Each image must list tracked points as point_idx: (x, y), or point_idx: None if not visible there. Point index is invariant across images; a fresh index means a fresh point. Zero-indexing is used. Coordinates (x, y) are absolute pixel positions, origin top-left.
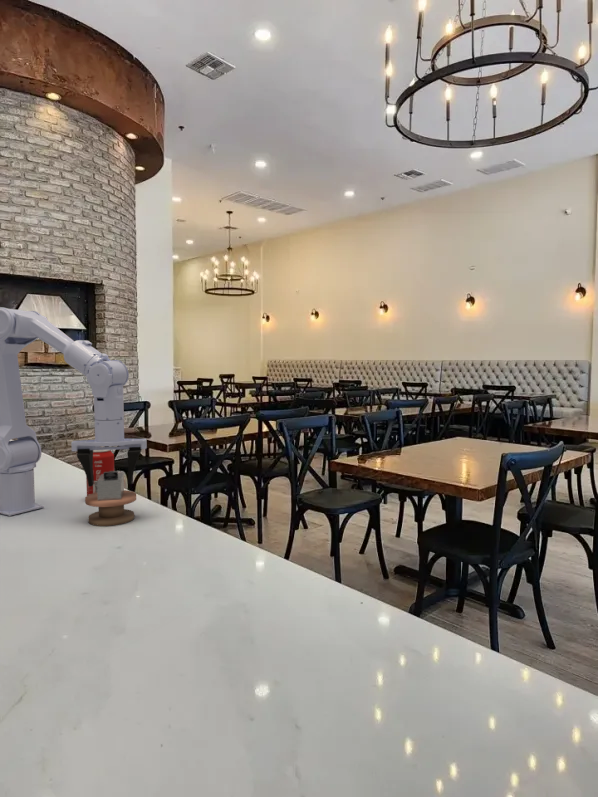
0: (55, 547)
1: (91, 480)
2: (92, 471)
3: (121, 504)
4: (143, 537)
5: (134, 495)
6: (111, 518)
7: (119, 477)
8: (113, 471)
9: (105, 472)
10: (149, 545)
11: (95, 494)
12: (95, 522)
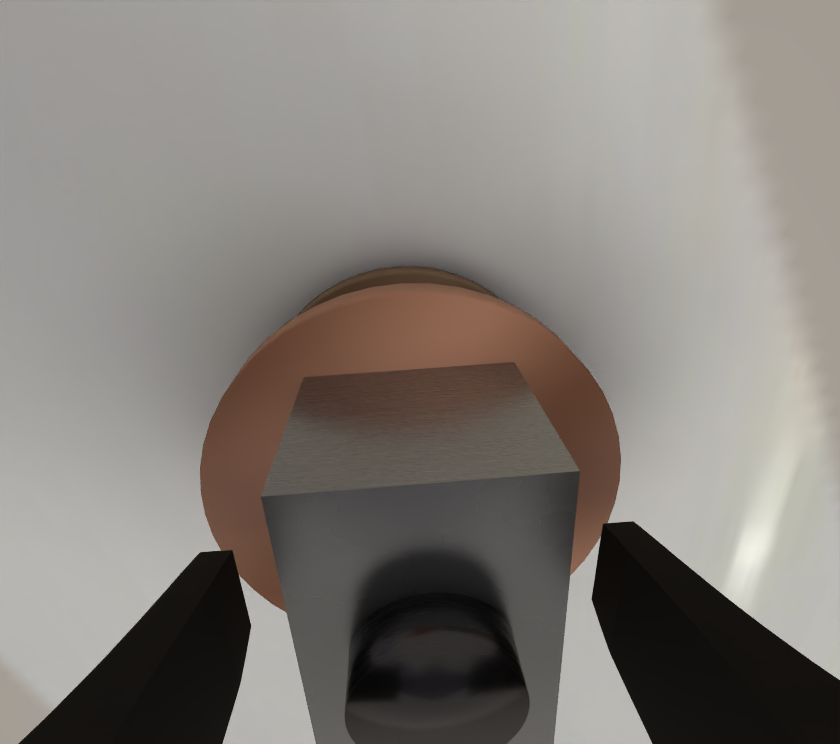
0: (254, 715)
1: (234, 699)
2: (169, 702)
3: None
4: (581, 654)
5: (604, 508)
6: None
7: (534, 681)
8: (468, 682)
9: (370, 721)
10: (598, 719)
11: (261, 436)
12: None
